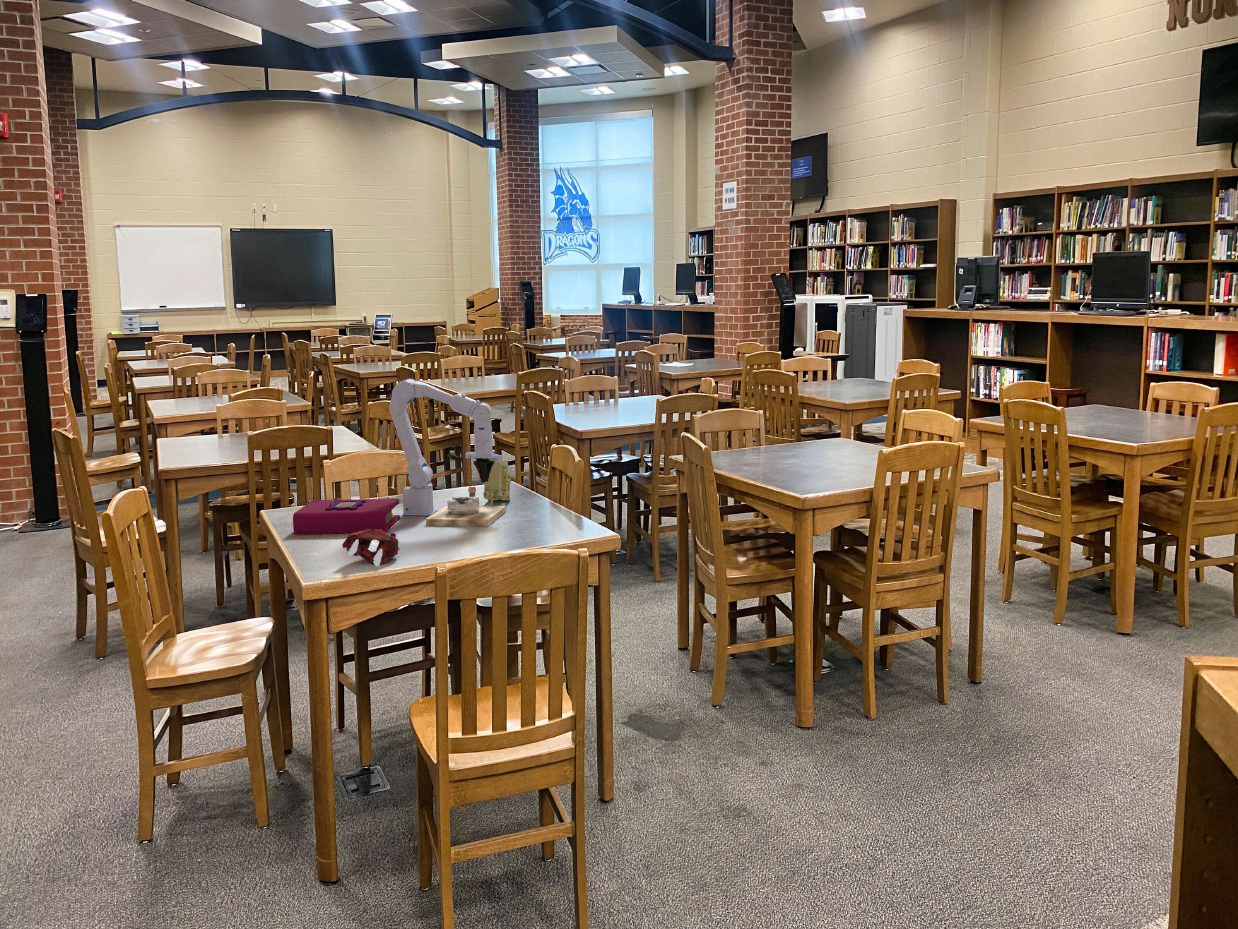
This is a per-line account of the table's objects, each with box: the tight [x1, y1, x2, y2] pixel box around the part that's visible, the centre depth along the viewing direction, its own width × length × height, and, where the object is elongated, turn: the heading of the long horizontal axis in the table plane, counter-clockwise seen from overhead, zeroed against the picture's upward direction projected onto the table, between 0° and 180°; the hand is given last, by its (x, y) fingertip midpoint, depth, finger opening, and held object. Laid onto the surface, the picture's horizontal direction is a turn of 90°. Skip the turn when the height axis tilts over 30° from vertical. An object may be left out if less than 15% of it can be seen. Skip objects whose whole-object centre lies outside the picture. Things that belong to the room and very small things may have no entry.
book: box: [292, 497, 401, 535], centre depth 303 cm, size 21×28×8 cm
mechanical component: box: [482, 460, 512, 506], centre depth 336 cm, size 8×17×20 cm, turn 175°
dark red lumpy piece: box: [342, 529, 400, 567], centre depth 261 cm, size 15×13×9 cm
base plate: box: [425, 504, 507, 527], centre depth 312 cm, size 20×21×2 cm
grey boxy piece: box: [446, 485, 480, 515], centre depth 314 cm, size 16×10×6 cm, turn 172°
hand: (484, 481), depth 318 cm, fingers closed
